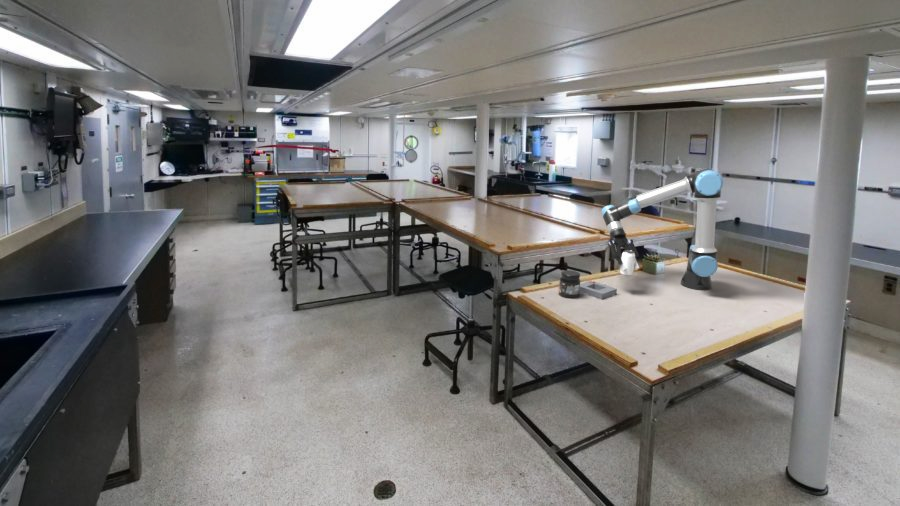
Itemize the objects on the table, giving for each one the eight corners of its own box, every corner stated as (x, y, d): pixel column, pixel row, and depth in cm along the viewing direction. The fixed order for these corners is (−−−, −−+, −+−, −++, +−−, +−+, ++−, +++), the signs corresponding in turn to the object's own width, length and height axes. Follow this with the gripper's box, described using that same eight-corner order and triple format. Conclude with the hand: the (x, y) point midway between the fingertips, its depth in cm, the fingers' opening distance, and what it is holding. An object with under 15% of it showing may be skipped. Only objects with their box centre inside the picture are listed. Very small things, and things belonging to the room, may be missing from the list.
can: (619, 274, 241) (621, 252, 238) (620, 271, 247) (622, 249, 244) (632, 276, 239) (635, 253, 235) (633, 272, 244) (635, 250, 241)
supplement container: (559, 290, 247) (561, 268, 244) (579, 293, 244) (582, 271, 240) (556, 296, 237) (558, 274, 234) (578, 299, 234) (580, 277, 231)
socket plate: (616, 294, 243) (617, 287, 242) (601, 299, 235) (602, 292, 234) (590, 285, 255) (591, 279, 254) (575, 290, 247) (576, 283, 246)
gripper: (629, 234, 255) (643, 271, 244) (597, 236, 250) (610, 274, 239) (635, 227, 248) (651, 264, 237) (603, 228, 244) (617, 267, 233)
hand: (631, 269), depth 238 cm, fingers closed on can, 6 cm apart
